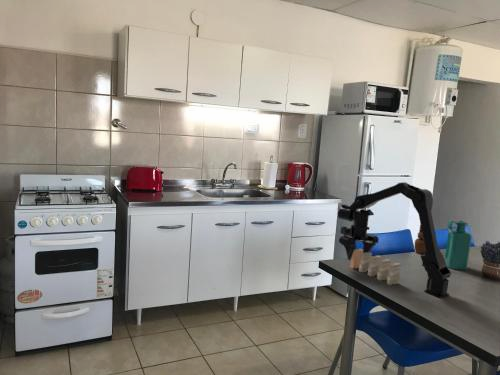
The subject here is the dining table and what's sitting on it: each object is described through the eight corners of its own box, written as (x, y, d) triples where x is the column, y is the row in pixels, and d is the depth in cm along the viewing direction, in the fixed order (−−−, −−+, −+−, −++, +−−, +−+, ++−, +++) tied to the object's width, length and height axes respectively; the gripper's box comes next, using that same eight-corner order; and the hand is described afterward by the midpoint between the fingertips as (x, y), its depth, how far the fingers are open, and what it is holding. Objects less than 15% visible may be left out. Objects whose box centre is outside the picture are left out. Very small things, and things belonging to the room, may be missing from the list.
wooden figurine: (412, 253, 216) (416, 224, 214) (414, 250, 221) (417, 222, 219) (426, 255, 213) (431, 226, 211) (427, 253, 218) (431, 225, 216)
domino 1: (361, 267, 184) (363, 249, 183) (352, 268, 182) (354, 250, 181) (358, 266, 186) (360, 248, 185) (350, 267, 183) (352, 249, 182)
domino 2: (369, 271, 180) (371, 253, 179) (361, 272, 178) (363, 254, 176) (366, 270, 182) (369, 252, 180) (358, 271, 179) (360, 253, 178)
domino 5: (398, 283, 168) (400, 264, 167) (390, 284, 165) (392, 265, 164) (395, 282, 169) (397, 262, 168) (386, 283, 166) (389, 264, 165)
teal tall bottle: (460, 265, 201) (467, 220, 198) (468, 270, 193) (475, 224, 190) (439, 262, 202) (446, 218, 199) (446, 268, 193) (453, 221, 190)
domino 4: (388, 279, 172) (390, 260, 171) (380, 280, 169) (382, 261, 168) (385, 277, 173) (387, 259, 172) (376, 279, 170) (379, 260, 169)
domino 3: (378, 275, 176) (381, 256, 175) (370, 276, 173) (372, 257, 172) (375, 273, 177) (378, 255, 176) (367, 275, 175) (369, 256, 174)
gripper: (362, 218, 193) (358, 251, 195) (331, 220, 183) (328, 255, 185) (381, 224, 183) (376, 258, 186) (350, 226, 174) (346, 263, 176)
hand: (356, 258), depth 183 cm, fingers open, 9 cm apart
